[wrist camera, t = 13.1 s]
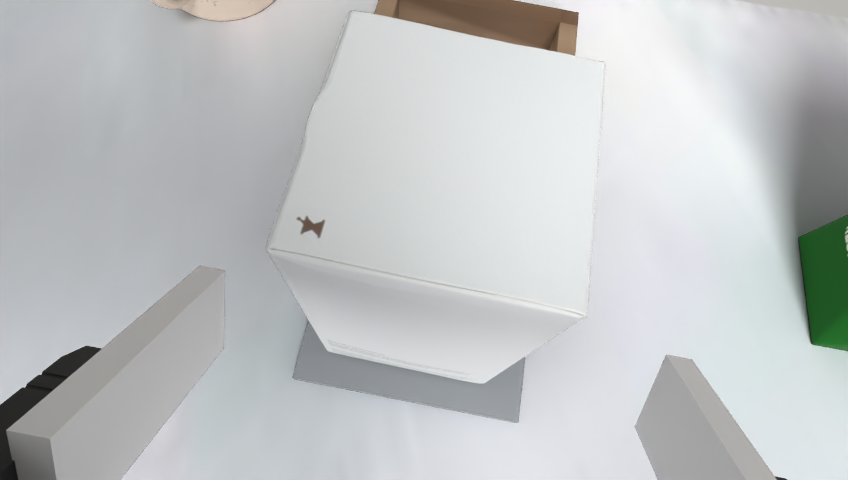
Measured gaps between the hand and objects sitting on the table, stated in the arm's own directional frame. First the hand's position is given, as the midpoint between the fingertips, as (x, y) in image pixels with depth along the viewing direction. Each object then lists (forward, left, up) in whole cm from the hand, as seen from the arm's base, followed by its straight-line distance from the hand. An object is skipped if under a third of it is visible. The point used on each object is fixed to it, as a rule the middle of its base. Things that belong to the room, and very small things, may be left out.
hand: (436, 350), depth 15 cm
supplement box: (-4, +4, -12) cm, 14 cm away
